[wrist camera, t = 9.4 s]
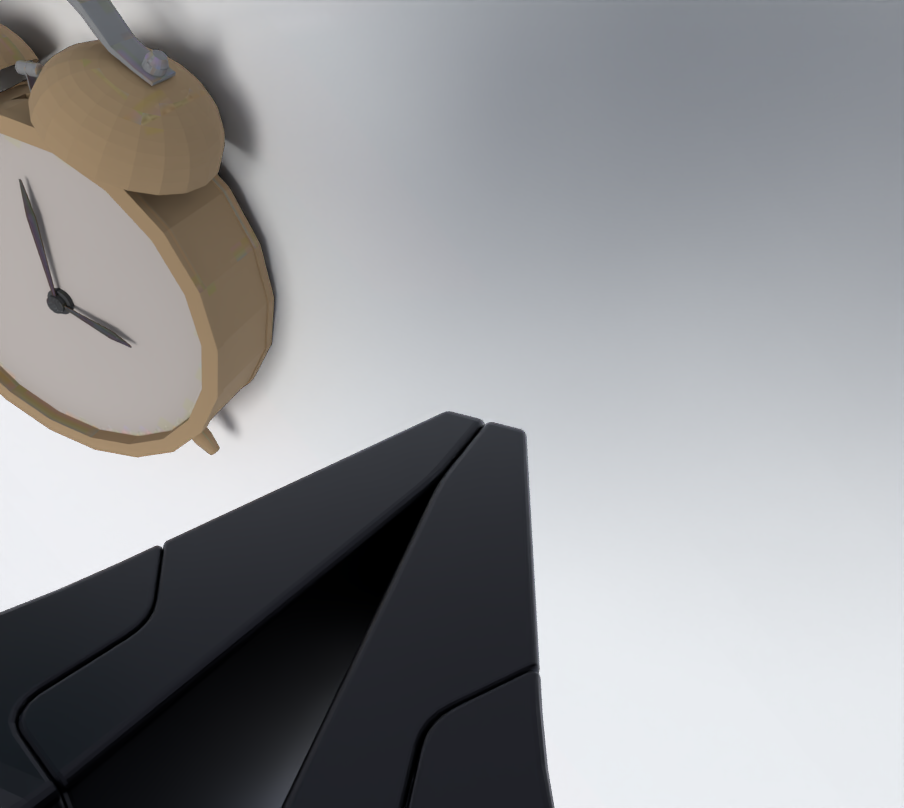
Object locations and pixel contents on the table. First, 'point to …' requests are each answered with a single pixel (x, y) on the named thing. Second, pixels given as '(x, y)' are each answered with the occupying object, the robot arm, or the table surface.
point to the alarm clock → (122, 247)
